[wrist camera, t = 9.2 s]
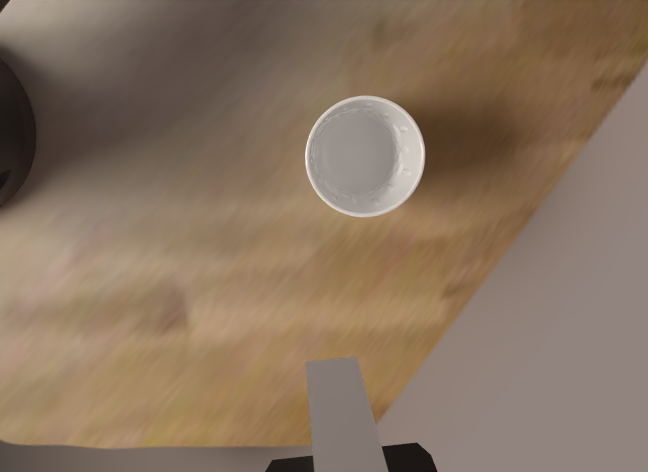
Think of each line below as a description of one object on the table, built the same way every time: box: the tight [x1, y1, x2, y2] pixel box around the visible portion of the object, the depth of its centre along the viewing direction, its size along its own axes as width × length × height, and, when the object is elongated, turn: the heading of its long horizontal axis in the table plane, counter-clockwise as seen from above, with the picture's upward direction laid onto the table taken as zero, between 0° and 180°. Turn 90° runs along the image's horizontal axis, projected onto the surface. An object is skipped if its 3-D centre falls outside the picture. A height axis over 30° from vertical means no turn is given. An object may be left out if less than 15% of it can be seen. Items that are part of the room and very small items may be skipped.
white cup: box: [305, 96, 425, 217], centre depth 41 cm, size 8×8×10 cm
